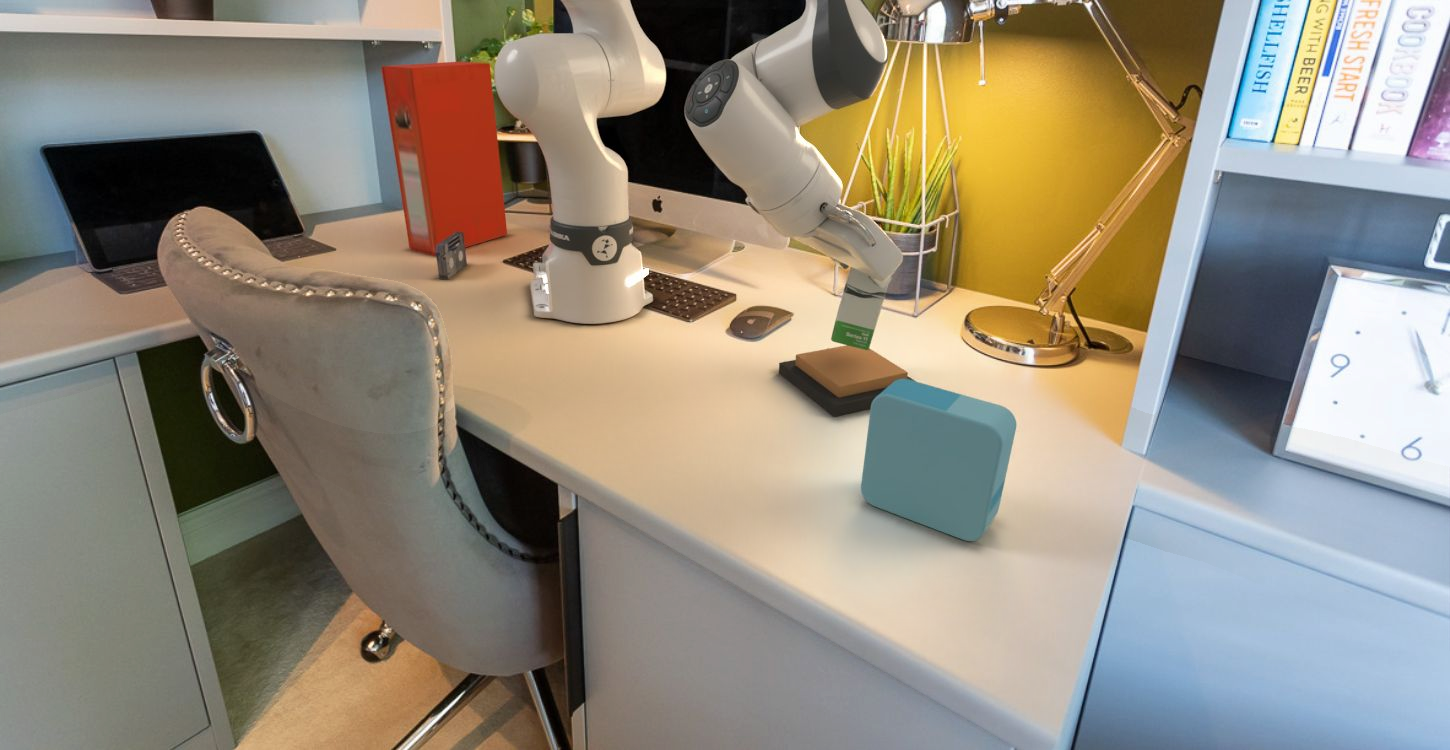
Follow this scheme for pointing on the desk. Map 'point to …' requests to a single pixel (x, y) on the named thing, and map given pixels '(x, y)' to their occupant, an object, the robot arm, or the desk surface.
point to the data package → (937, 457)
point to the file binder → (446, 151)
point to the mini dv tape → (451, 255)
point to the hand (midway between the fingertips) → (864, 272)
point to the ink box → (858, 311)
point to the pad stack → (842, 377)
